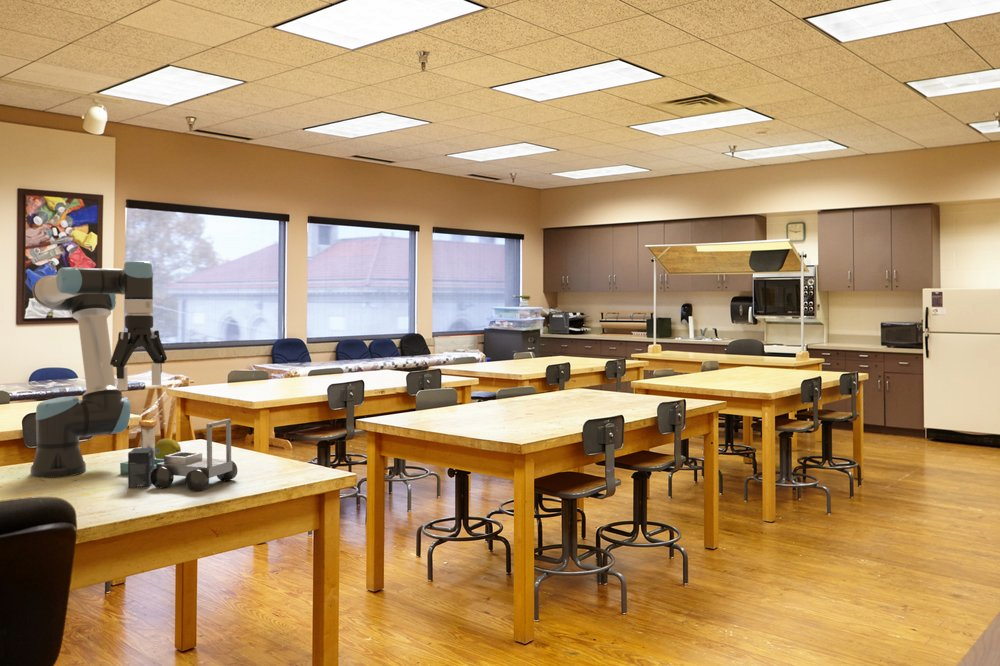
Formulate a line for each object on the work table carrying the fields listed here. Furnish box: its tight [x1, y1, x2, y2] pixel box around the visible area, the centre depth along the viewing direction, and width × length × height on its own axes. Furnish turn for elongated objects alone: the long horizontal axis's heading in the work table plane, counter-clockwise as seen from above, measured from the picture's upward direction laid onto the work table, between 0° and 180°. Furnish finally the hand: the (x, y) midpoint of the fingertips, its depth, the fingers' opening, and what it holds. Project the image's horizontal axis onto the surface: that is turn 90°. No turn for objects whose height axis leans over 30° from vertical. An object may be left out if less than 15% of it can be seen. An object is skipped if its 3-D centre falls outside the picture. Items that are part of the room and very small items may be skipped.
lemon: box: [155, 438, 182, 459], centre depth 269 cm, size 11×8×8 cm
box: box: [127, 447, 154, 490], centre depth 236 cm, size 8×6×11 cm
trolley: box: [150, 418, 238, 493], centre depth 238 cm, size 18×16×19 cm
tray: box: [119, 458, 164, 476], centre depth 253 cm, size 13×9×4 cm
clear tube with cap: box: [138, 419, 158, 465], centre depth 253 cm, size 5×5×15 cm
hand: (140, 387), depth 235 cm, fingers open, 13 cm apart
